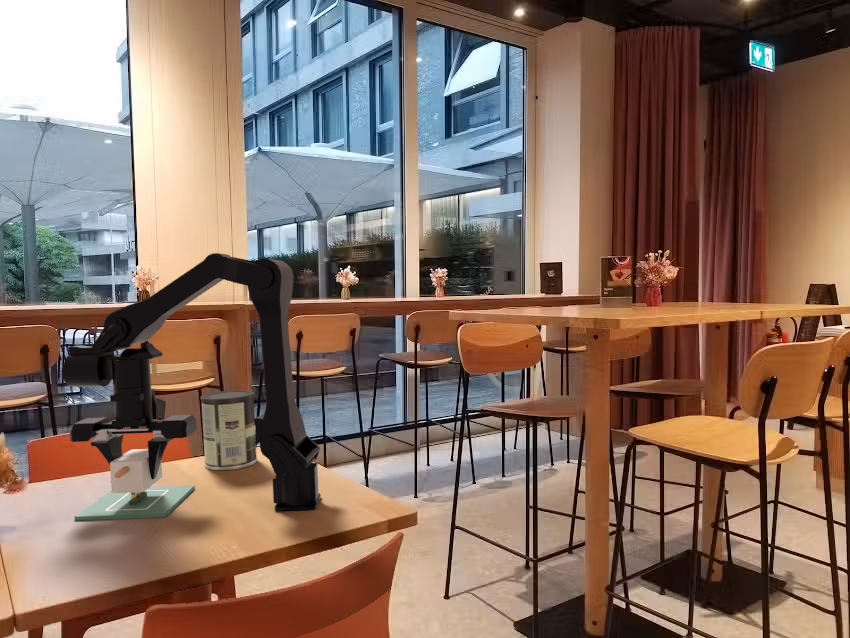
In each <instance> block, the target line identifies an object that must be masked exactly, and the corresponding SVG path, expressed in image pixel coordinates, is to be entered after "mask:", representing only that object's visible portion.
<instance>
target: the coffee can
mask: <svg viewBox="0 0 850 638" xmlns="http://www.w3.org/2000/svg"><path fill="white" fill-rule="evenodd" d="M254 397H255V392H254V391H252V390H247V389H246V390H245V389H242V390H241V389H236V390H233V389H232V390H223V391H221V390H220V391H214V392H210V393H206V394H203V395H201V396H200V401H201V415H202V416H201V417H202V430H203V431H202V432H203V450H204V467H205V468H206V469H208V470H211V471H231V470H232V471H233V470H240V469H243V468H246V467H249V466H253V465H255V464H256V463H257V462H258V457H257V456H258V455H257V445H256V444H255V443H256V439H257V435H256V427H255V418H256V417H255V401H254V400H255V398H254Z"/></svg>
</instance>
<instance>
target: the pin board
mask: <svg viewBox="0 0 850 638" xmlns="http://www.w3.org/2000/svg"><path fill="white" fill-rule="evenodd" d="M195 489H196V486H195V485H171V486H169V485H167V486H166V485H165V486H150V487H149V488H148V489H147V490H145V491H144V492H134V493H112V490H110V491H109V492H107V493H106V494H105V495H103V496H101V497H100V498H99V499H97V500H95V502H93V503H92V504H90V505H89V506H87V507H86V508H85V509H83V510H81V511H80V512H79V513H77V514H75V516H74V517H73V518H74V521H93V520H95V521H97V520H99V521H100V520H121V519H122V520H124V519H127V520H128V519H148V518H154V519H156V518H167V516H168V515H169V514H170V513H171V512H172V511H174V510H175V508H177V506H179V505H180V504H181V503H182V502H183V501H184V500H185V499H186V498H187V497H188V496H189V495H190V494H191V493H193V491H194V490H195Z"/></svg>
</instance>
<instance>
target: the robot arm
mask: <svg viewBox="0 0 850 638" xmlns="http://www.w3.org/2000/svg"><path fill="white" fill-rule="evenodd" d="M293 272H294V271H293V270H292V268H291V266H290V265H289V264H287V263H286V262H285V261H284V260H283V261H282V260H280V259H279V260H278V259H270V258H269V259H268V258H261V259H257V260H251V259H250V260H249V259H245V258H239V257H235V256H231V255H230V254H226V253H220V252H219V253H218V252H215V253H214V252H213V253H210V254H209V255H207V256H206V257H205V258H204V259H203V260H202V261H200V262H199V263H198V264H196V265H195V266H193V267H192V268H190V269H189V270H187V271H186V272H184V273H183V274H181V275H180V276H179V277H177V278H176V279H174V280H173V281H171V282H170V283H168V284H167V285H165V286H164V287H163V288H160V289H159V290H158V291H157V292H155V293H154V294H152V295H151V296H149V297H147V298H144V299H143V300H139V301H137V302H134V303H131V304H127V305H125V306H123V307H121V308H118V309H117V310H114V311H112V312H110V313H109V314H108V315H106V316H105V318H104V319H103V327H102V328H103V329H102V330H101V332H100V334H98V336H97V338H96V340H95V341H94V342H93V344H92V346H87V345H73V346H70V347H69V351H68V352H69V354H68V355H66V358H65V360H64V363H63V367H62V368H61V374H62V375H61V376H62V379H63V381H64V382H65V385H67V386H69V387H71V388H78V387H79V388H81V387H82V388H84V387H85V388H86V387H107V386H108V385H110V383H111V382H112V389H113V394H111V395H109V401H110V402H111V403H113V407H114V419H112V420H111V422H110V420H109V418H108V417H87V418H84V419H82V420H79V421H77V422H74V423H73V425H71V426H70V430H69V440H70V442H71V443H74V442H75V443H78V442H89V441H91V440H92V441H91V442H90V446H91V447H96V448H97V450H98V451H99V452H100V453H101V455H102V456H103V458H104V459H105V460H106V462H107V463H108V464H109V466H110V462H112V461H113V460H115V459H117V458H118V457H120V456H122V455H123V449H122V444H123V441H124V435H126V434H152V435H153V438H151V439H149V440H148V441H147V449H148V454H149V469H150V475H151V479H155V478H156V476H157V473H158V469H159V466H160V463H162V459H163V456H164V453H165V450H166V448H167V446H168V443H169V442H171V441H172V440H174V439H185V438H188V437H189V436H190V435H192V434H193V433H195V432H196V431H198V427H197V426H198V425H197V423H198V422H197V418H196V417H195V416H194V415H193V414H174V415H170V416H169V417H167V418H166V406H167V402H166V401H165V400H163V399H161V398H158V397H156V391H155V389H154V388H152V378H151V377H152V376H151V363H150V360H152V359H156V358H160V357H162V356H163V352H162V351H161V350H159V349H158V348H156V346H154V345H153V343H150V342H149V343H145V342H147V341H148V340H150V339H151V338H152V337H153V336H154V335H155V334H156V333H157V332H158V331H159V330H160V329H161V328H162V326H163V325H164V324H165V322H166V321H167V320H168V318H170V317H171V316H172V315H173V314H175V313H176V312H177V311H179V310H180V309H182V308H183V307H185V306H186V305H187V304H189V303H191V302H192V301H194V300H195V299H197V298H198V297H200V296H201V295H202V294H204V293H206V292H207V291H209V290H211V289H212V288H213V287H215V286H216V285H218V284H219V283H220V282H222V281H227V282H231V283H235V284H238V285H243V286H247V290H248V293H249V299H250V301H251V303H252V305H253V307H254V309H255V311H256V313H257V315H258V320H259V321H258V322H259V329H260V332H259V333H260V343H261V344H260V346H261V355H262V369H263V380H264V391H265V393H264V394H265V402H266V403H265V410H264V413H262V414H260V415H258V416H256V417H255V432H256V443H255V444H256V446H257V445H259V448H260V452H261V454H262V456H264V457H265V458H266V459H268V461H269V462H270V465H271V468H272V470H273V472H274V474H275V475H274V477H273V478H272V498H273V503H274V504H275V505H274V510H275V511H296V510H297V511H298V510H299V511H301V510H314V509H317V506H318V504H319V501H320V499H321V497H322V496H321V493H319V476H318V463H317V462H315V461H316V460H317V459H318V457H319V454H320V451H321V447H320V446H319V445H318V443H316V442H315V441H314V440H312V439H311V437H310V436H308V434H307V430H306V428H305V424H304V420H303V417H302V413H301V411H300V409H299V407H298V406H297V403H296V400H295V392H294V381H293V369H292V359H291V358H292V356H291V344H290V333H289V321H288V316H289V309H290V305H291V301H292V297H293V289H294V273H293ZM143 343H145V344H143ZM137 344H143V345H142V347H139V348H137V347H135V348H131V347H132V346H133V345H137ZM120 350H122V351H121V353H120V354H115V352H116V351H120Z"/></svg>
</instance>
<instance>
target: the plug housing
mask: <svg viewBox="0 0 850 638" xmlns="http://www.w3.org/2000/svg"><path fill="white" fill-rule="evenodd" d="M162 467H163V466H162V462H161V463H160V466H159V469H158V473H157V476H156V478H155V479H151V475H150V469H149V454H148V448H143V449H142V448H141V449H140V448H139V449H135V448H134V449H130V450H128V451H127V452H125V453H122V456H120V457H118V458H117V459H115V460H113V461H112V462H110V465H109V469H110V483H111V491H112V493H134V492H144V491H145V490H147V489H148V488H149V487H153V485H154V484H156V483H157V482H158V481H159V480H161V479H162V478H163V468H162Z"/></svg>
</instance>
